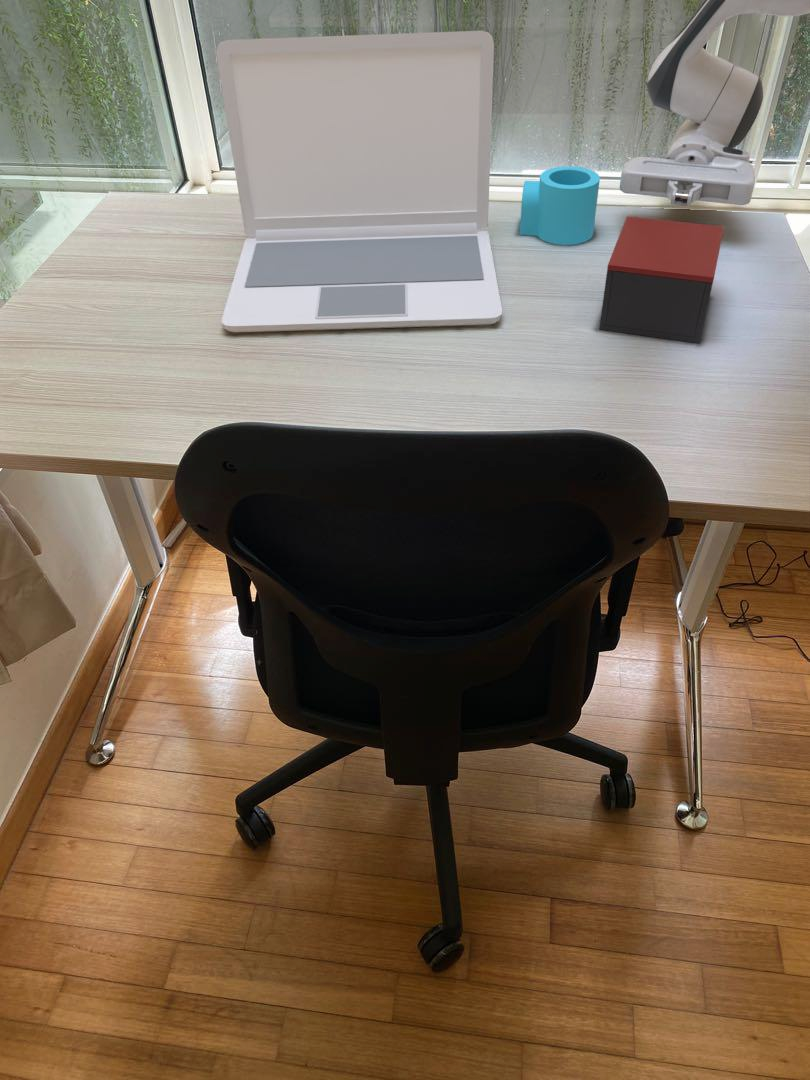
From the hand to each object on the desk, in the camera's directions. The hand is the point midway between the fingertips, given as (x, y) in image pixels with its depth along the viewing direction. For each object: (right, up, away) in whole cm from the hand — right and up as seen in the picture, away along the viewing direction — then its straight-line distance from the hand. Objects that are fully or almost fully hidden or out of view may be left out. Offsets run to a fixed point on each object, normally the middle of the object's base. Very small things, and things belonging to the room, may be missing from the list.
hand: (681, 200), depth 133 cm
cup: (-17, 0, +13) cm, 21 cm away
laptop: (-48, -12, +2) cm, 50 cm away
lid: (-6, -12, -13) cm, 18 cm away
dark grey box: (-6, -19, -7) cm, 21 cm away
